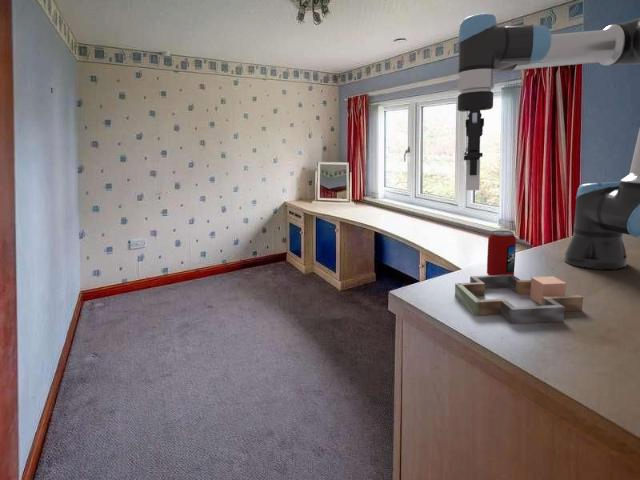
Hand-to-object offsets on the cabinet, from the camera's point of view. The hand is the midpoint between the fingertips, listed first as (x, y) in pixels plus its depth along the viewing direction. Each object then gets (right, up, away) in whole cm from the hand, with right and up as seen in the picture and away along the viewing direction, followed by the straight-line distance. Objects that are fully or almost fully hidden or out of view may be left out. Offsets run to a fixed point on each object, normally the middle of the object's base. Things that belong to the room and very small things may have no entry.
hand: (473, 187), depth 99 cm
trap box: (+8, -26, -5) cm, 28 cm away
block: (+15, -26, -5) cm, 30 cm away
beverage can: (+12, -22, +14) cm, 29 cm away
